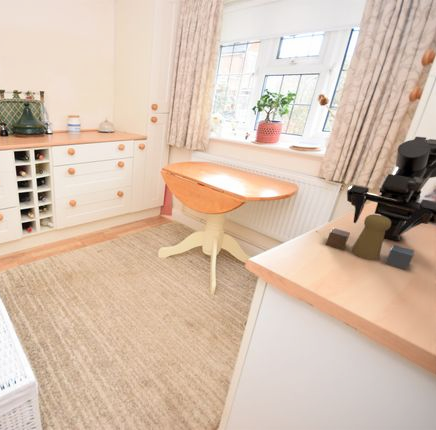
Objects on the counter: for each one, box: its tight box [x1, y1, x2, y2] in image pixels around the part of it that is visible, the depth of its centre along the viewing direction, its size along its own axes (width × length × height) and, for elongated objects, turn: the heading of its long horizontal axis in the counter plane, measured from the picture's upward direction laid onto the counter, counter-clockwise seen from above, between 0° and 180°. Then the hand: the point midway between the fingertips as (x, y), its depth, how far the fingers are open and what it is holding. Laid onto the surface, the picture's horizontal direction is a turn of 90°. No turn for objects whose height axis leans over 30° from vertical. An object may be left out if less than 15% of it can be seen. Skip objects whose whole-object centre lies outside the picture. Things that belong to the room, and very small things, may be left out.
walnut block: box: [325, 227, 351, 250], centre depth 82 cm, size 4×4×4 cm
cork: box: [350, 214, 391, 261], centre depth 76 cm, size 6×6×11 cm
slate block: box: [384, 244, 415, 271], centre depth 73 cm, size 4×4×4 cm
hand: (375, 228), depth 76 cm, fingers open, 9 cm apart
